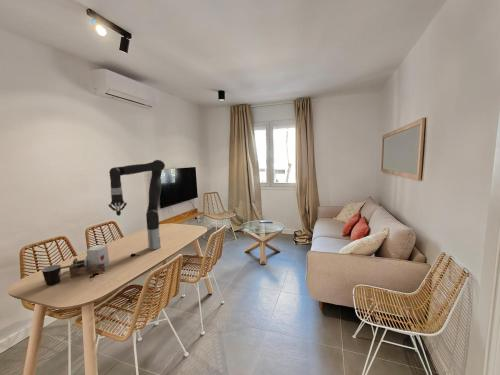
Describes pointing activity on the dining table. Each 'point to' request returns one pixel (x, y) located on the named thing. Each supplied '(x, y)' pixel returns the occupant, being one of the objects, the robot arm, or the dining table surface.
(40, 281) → the dining table surface
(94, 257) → the supplement box
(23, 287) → the dining table surface
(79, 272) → the brown wooden box
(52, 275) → the coffee mug
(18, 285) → the dining table surface
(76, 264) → the pusher plate
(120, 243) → the dining table surface
